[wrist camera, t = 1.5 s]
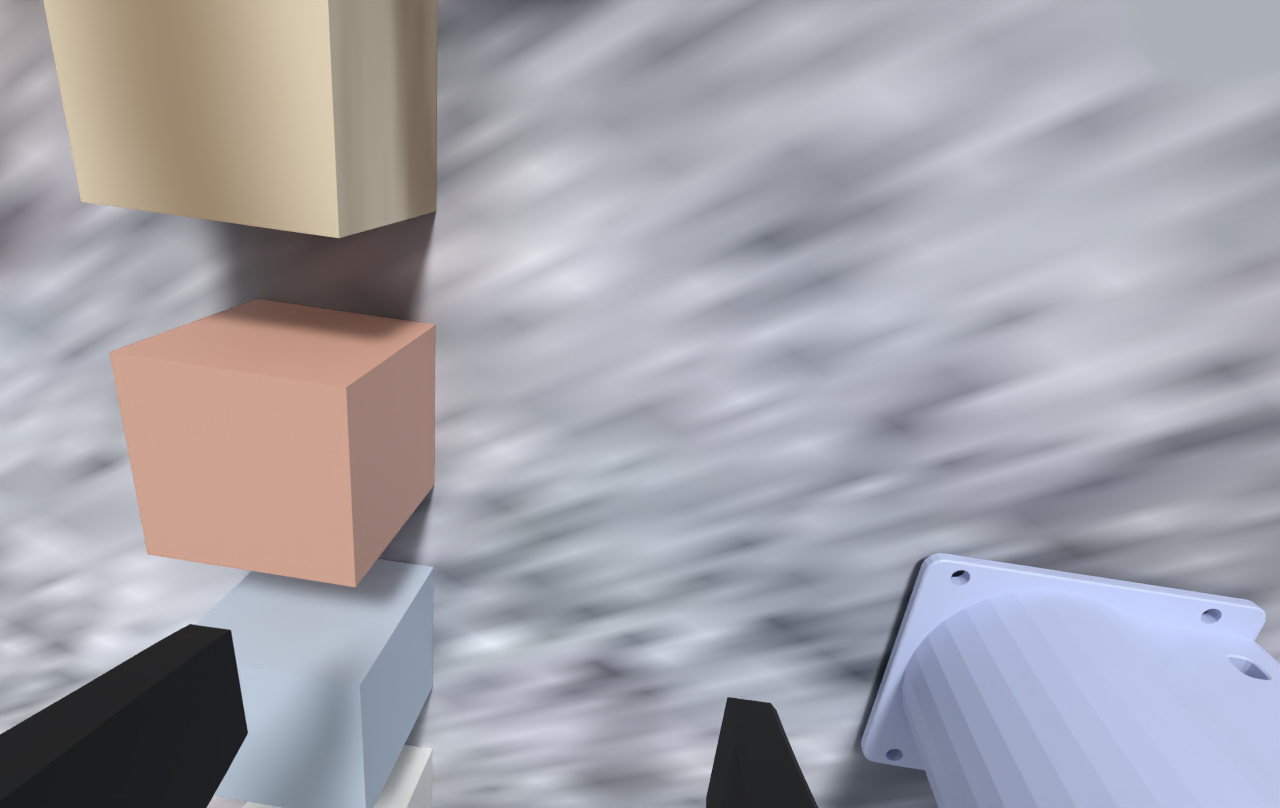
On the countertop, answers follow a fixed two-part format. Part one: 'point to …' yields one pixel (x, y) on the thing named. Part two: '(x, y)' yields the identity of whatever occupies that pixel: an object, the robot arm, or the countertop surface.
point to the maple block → (253, 108)
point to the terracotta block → (280, 437)
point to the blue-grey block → (327, 682)
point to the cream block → (402, 782)
